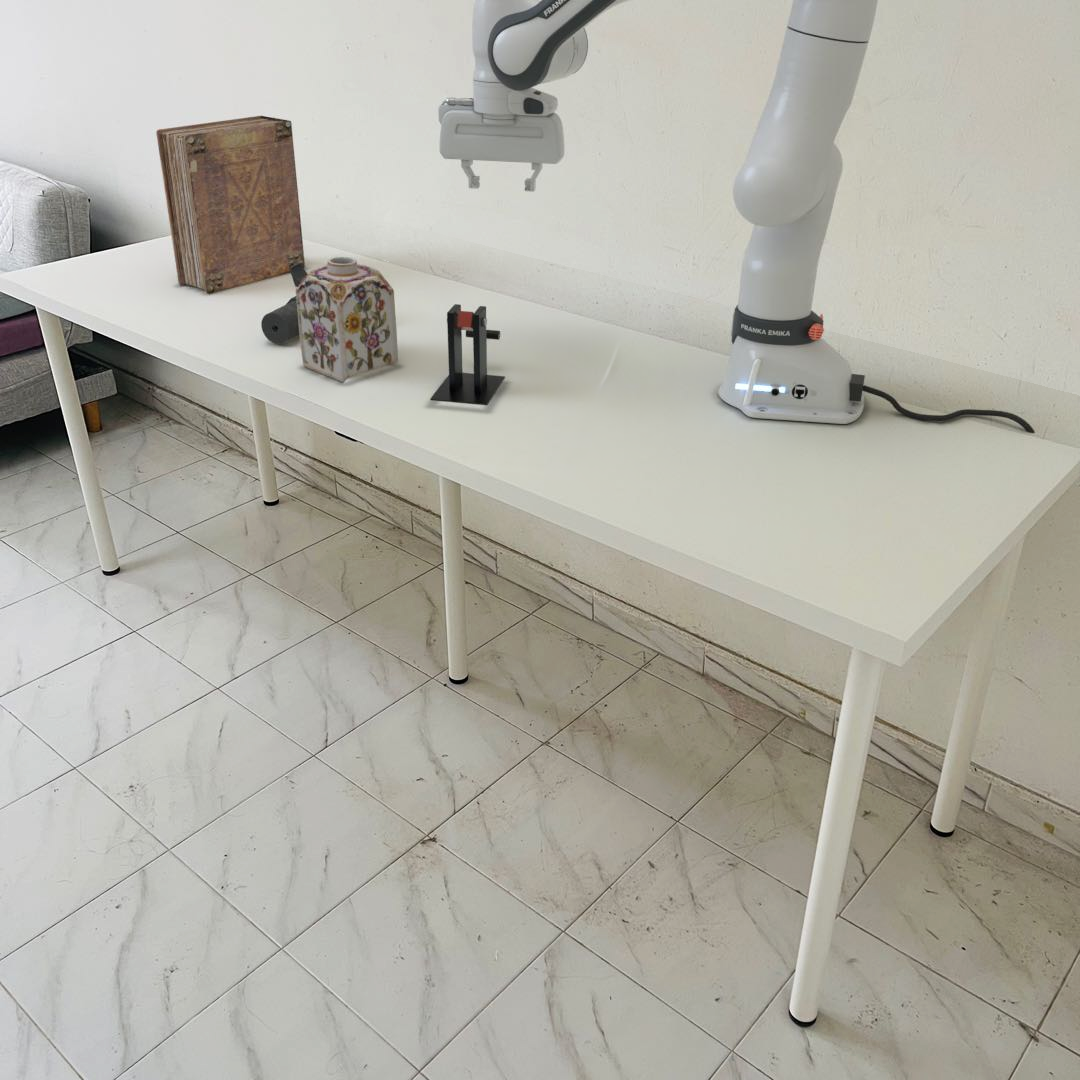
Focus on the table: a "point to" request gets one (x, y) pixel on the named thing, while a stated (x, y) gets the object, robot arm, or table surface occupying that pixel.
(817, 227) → the robot arm
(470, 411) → the table surface
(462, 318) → the switch lever
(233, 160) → the book
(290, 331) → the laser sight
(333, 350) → the decorative jar
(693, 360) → the table surface
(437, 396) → the switch bracket
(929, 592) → the table surface
